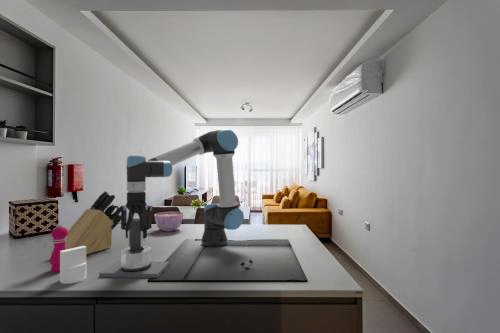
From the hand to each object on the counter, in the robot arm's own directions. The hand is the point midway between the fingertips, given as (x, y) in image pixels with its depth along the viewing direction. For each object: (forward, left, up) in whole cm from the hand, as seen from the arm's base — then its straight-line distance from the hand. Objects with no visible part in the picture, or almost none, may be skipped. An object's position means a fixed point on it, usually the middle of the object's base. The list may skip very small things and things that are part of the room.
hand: (136, 245), depth 122 cm
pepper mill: (+34, 0, -11) cm, 36 cm away
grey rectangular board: (0, 0, -11) cm, 11 cm away
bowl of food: (+12, -78, -11) cm, 80 cm away
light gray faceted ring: (0, 0, -9) cm, 9 cm away
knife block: (+37, -28, -11) cm, 48 cm away
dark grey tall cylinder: (0, 0, -1) cm, 1 cm away
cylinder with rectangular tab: (+21, +10, -11) cm, 26 cm away
